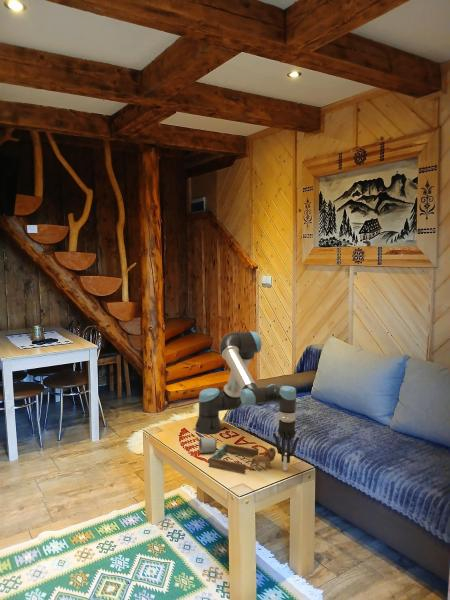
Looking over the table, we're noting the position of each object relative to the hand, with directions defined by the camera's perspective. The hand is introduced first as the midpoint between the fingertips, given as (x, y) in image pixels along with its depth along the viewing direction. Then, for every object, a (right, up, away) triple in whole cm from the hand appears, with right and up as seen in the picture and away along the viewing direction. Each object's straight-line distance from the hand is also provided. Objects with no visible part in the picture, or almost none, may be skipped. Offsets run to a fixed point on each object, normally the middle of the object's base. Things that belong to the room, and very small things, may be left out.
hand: (285, 468), depth 220 cm
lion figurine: (-10, -1, +4) cm, 11 cm away
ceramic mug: (-38, +1, +22) cm, 44 cm away
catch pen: (-24, 0, +9) cm, 26 cm away
